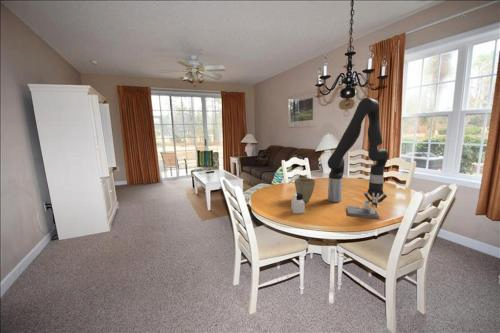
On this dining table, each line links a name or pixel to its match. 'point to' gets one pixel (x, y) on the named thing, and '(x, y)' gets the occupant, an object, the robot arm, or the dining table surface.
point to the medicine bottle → (298, 203)
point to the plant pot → (305, 187)
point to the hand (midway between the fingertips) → (374, 208)
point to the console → (361, 212)
